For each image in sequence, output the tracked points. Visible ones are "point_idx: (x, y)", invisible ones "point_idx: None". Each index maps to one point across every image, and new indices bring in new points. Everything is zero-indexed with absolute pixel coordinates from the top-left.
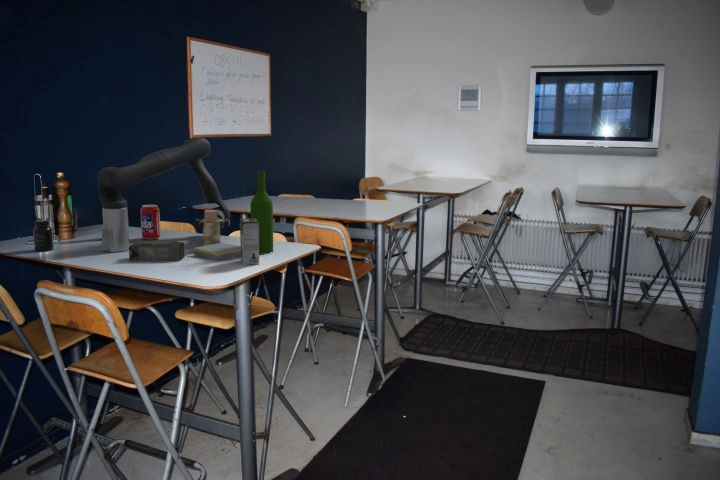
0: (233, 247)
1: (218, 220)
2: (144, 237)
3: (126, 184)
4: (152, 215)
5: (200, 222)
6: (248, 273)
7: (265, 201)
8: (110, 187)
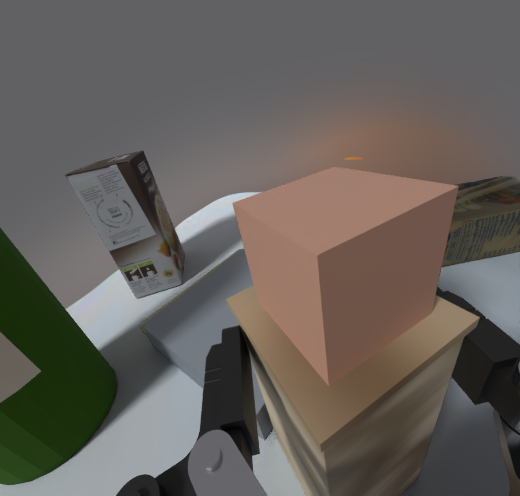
0: (191, 311)
1: (248, 323)
2: None
3: None
4: None
5: (515, 354)
6: (181, 224)
7: None
8: None
